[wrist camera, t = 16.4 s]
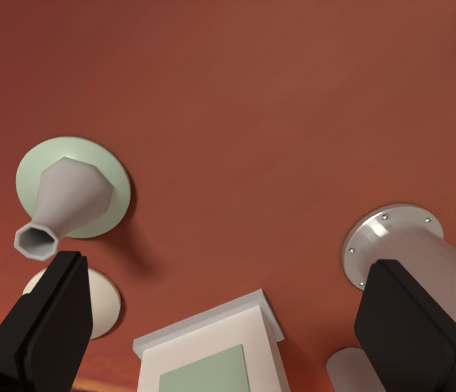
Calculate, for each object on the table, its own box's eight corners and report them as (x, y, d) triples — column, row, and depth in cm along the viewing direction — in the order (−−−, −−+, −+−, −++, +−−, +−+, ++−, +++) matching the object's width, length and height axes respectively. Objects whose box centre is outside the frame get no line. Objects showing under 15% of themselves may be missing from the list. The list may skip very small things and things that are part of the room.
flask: (89, 234, 37) (57, 296, 28) (25, 198, 35) (-34, 252, 26) (126, 184, 35) (104, 234, 26) (61, 142, 33) (12, 180, 24)
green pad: (132, 141, 35) (130, 144, 34) (130, 236, 39) (129, 241, 38) (14, 130, 33) (9, 132, 32) (26, 230, 37) (22, 234, 37)
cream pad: (121, 265, 40) (119, 270, 40) (120, 336, 45) (119, 342, 44) (20, 260, 39) (16, 265, 38) (30, 334, 43) (26, 340, 42)
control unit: (134, 339, 45) (112, 456, 32) (261, 288, 44) (290, 389, 31) (162, 376, 48) (152, 496, 36) (281, 330, 47) (315, 437, 34)
